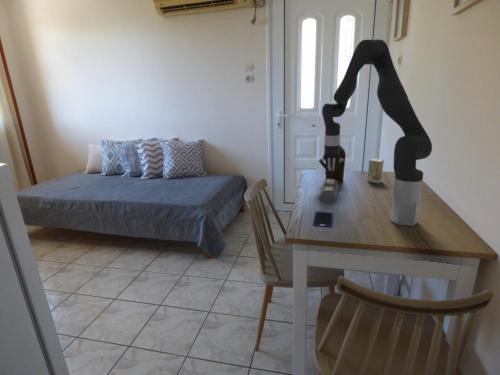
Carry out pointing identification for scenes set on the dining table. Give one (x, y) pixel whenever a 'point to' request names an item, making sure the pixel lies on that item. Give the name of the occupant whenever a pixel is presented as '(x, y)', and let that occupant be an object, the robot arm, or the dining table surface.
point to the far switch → (330, 181)
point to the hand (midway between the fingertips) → (331, 177)
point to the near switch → (328, 188)
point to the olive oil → (340, 172)
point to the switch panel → (329, 192)
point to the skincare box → (375, 170)
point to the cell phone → (323, 219)
